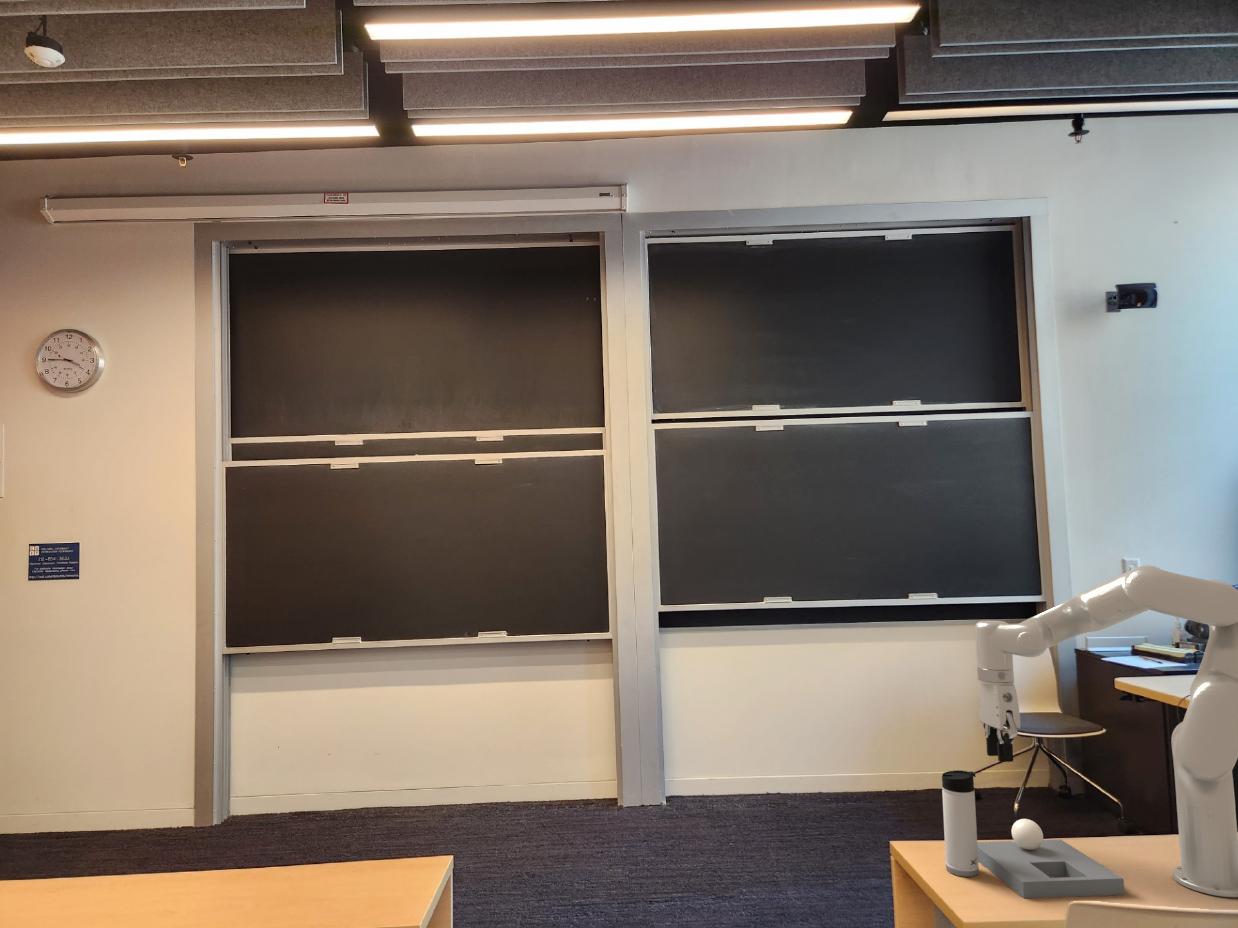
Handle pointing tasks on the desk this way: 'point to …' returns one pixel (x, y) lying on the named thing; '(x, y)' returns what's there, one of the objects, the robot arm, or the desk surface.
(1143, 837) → the desk surface
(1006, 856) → the plate
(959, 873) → the travel mug
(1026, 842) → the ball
